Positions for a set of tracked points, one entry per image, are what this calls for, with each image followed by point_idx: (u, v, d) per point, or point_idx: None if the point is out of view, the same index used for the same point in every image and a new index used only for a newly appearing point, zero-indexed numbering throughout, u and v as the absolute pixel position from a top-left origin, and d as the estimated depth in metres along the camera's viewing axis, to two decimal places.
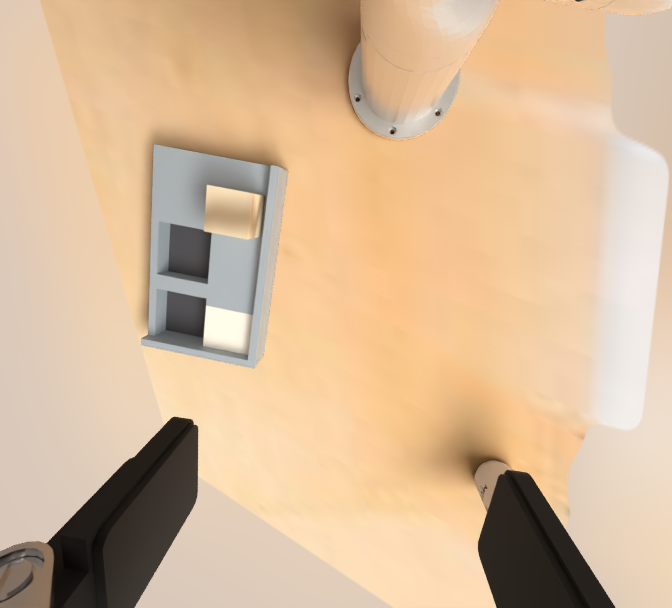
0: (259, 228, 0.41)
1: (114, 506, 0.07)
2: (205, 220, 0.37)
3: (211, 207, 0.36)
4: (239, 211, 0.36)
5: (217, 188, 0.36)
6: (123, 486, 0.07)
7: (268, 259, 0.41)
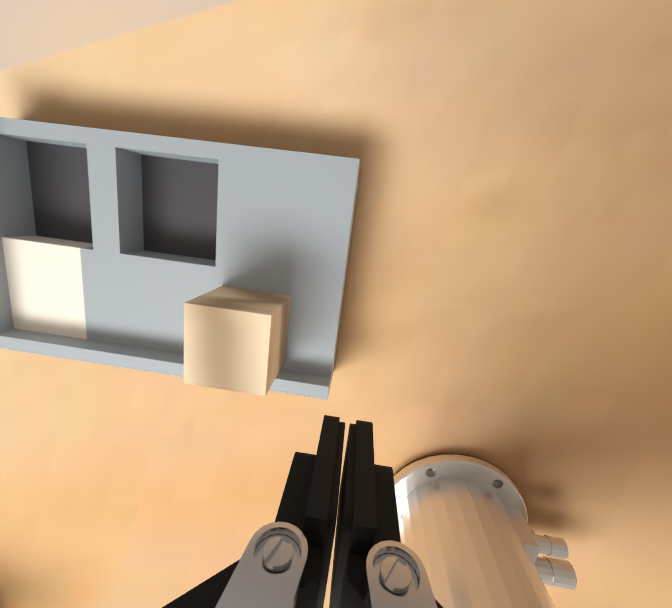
0: None
1: (330, 492, 0.08)
2: (205, 308, 0.18)
3: (230, 321, 0.18)
4: (230, 373, 0.19)
5: (266, 335, 0.18)
6: (326, 475, 0.08)
7: (177, 374, 0.24)
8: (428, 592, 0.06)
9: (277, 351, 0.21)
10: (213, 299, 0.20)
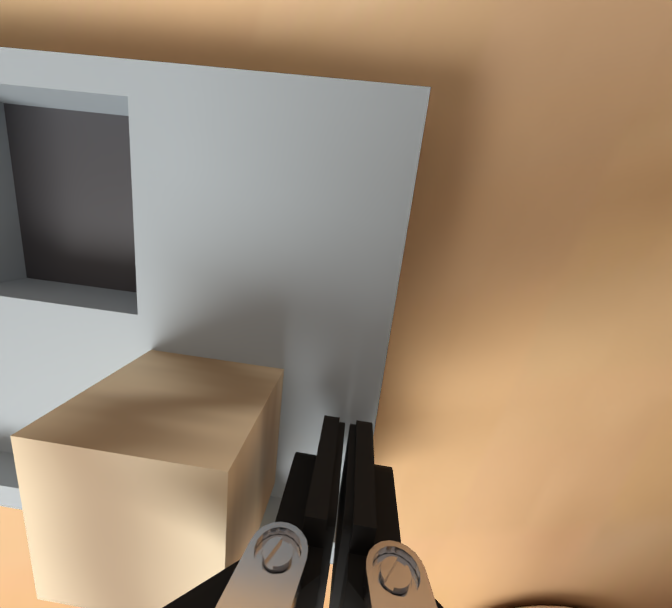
0: None
1: (330, 492, 0.08)
2: (63, 449, 0.07)
3: (128, 481, 0.07)
4: (139, 587, 0.08)
5: (218, 513, 0.07)
6: (326, 475, 0.08)
7: None
8: (428, 592, 0.06)
9: (254, 501, 0.10)
10: (104, 407, 0.09)
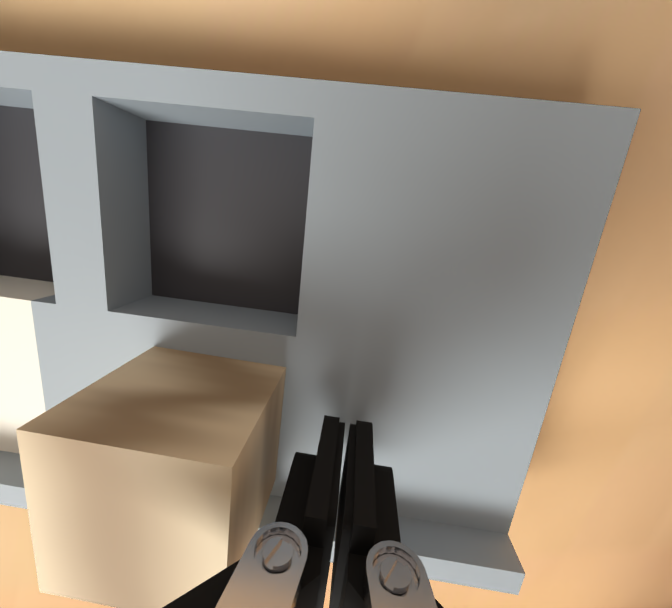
0: None
1: (330, 492, 0.08)
2: (68, 443, 0.07)
3: (132, 475, 0.07)
4: (141, 582, 0.08)
5: (222, 509, 0.07)
6: (326, 475, 0.08)
7: None
8: (428, 592, 0.06)
9: (256, 497, 0.10)
10: (108, 402, 0.09)
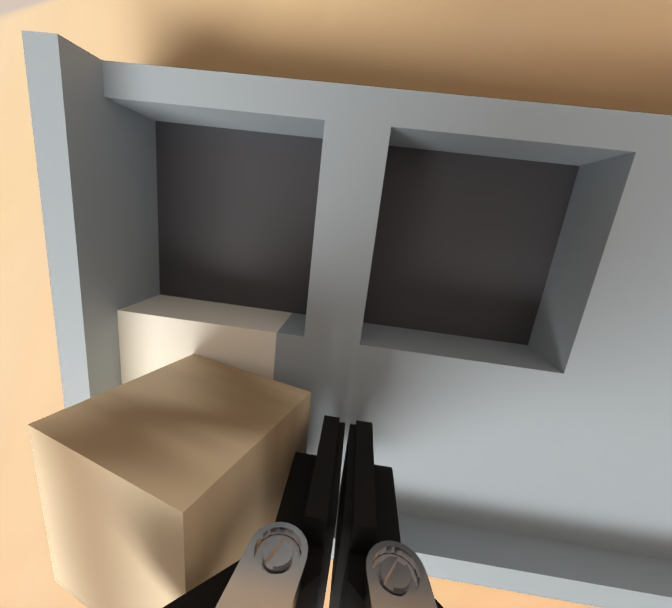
0: None
1: (330, 492, 0.08)
2: (59, 447, 0.07)
3: (104, 493, 0.07)
4: (120, 605, 0.08)
5: (177, 557, 0.06)
6: (326, 475, 0.08)
7: (465, 577, 0.12)
8: (428, 592, 0.06)
9: None
10: (117, 408, 0.09)
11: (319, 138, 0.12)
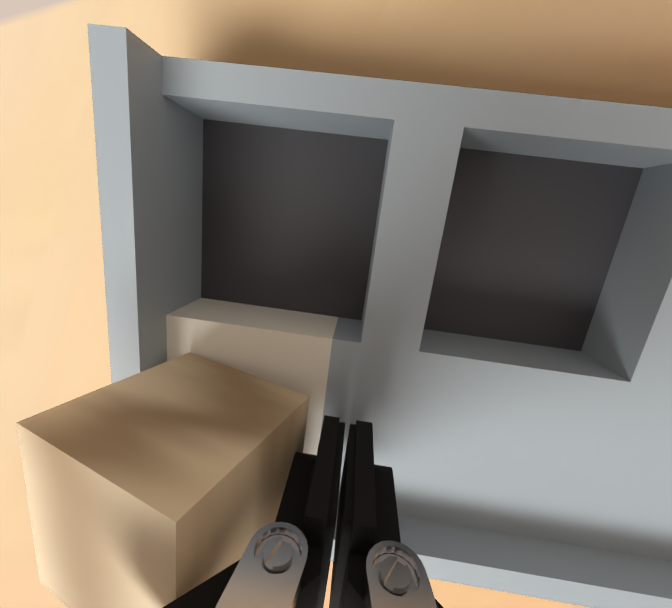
0: None
1: (330, 492, 0.08)
2: (48, 448, 0.07)
3: (94, 497, 0.07)
4: None
5: (169, 567, 0.06)
6: (326, 475, 0.08)
7: (522, 589, 0.12)
8: (428, 592, 0.06)
9: (246, 547, 0.09)
10: (109, 408, 0.09)
11: (374, 138, 0.12)
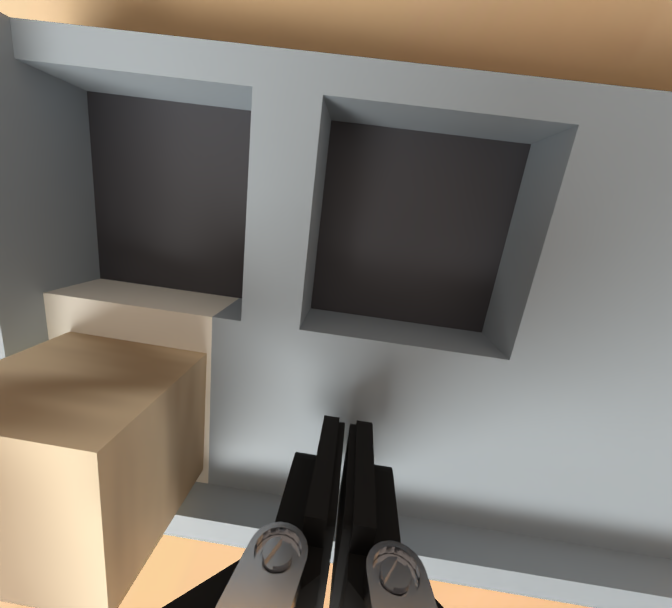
0: None
1: (330, 492, 0.08)
2: None
3: None
4: (19, 573, 0.08)
5: (92, 497, 0.07)
6: (326, 475, 0.08)
7: None
8: (428, 592, 0.06)
9: (161, 486, 0.10)
10: None
11: None
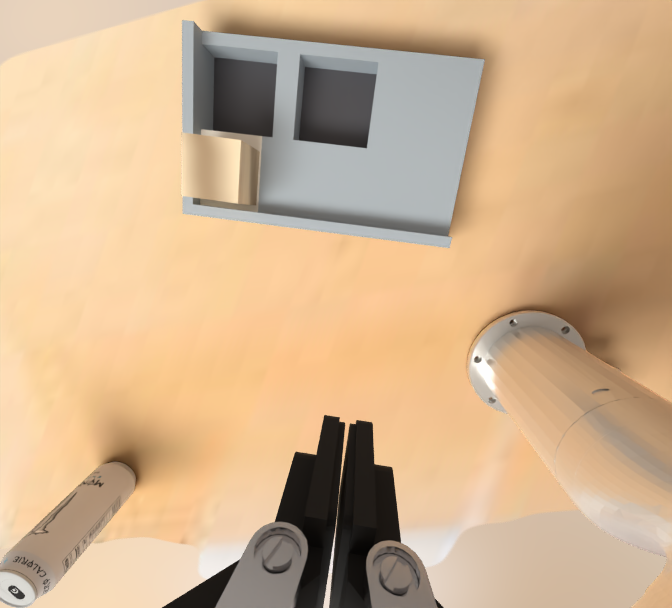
0: None
1: (330, 493, 0.08)
2: (196, 136, 0.27)
3: (213, 145, 0.27)
4: (213, 186, 0.28)
5: (238, 155, 0.27)
6: (326, 476, 0.08)
7: None
8: (428, 592, 0.06)
9: (247, 182, 0.30)
10: None
11: None
